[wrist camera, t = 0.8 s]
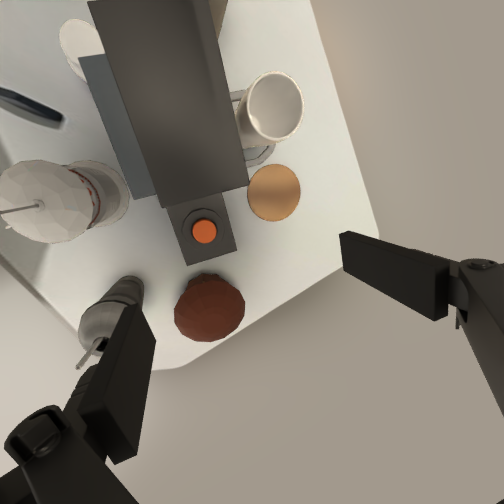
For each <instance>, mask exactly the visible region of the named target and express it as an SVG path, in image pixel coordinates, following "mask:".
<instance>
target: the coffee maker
mask: <svg viewBox="0 0 504 504" xmlns="http://www.w3.org/2000/svg"><path fill="white" fill-rule="evenodd" d="M87 4H88V7H89V9H90V12H91V15H92V18H93V20H94V23H95V26H96V29H97V31H98V34H99V37H100V40H101V42H102V45H103V48H104V51H105V53H104V54H98V55H91V56H84V57H78V61H79V63H80V66H81V68H82V71H83V73H84V76H85V78H86V81H87V83H88V86H89V88H90V91H91V93H92V96H93V98H94V101H95V103H96V106H97V108H98V111H99V113H100V116H101V118H102V121H103V123H104V126H105V128H106V131H107V133H108V136H109V138H110V141H111V143H112V146H113V148H114V151H115V154H116V156H117V159H118V161H119V164H120V166H121V169H122V171H123V174H124V176H125V179H126V181H127V184H128V186H129V189H130V191H131V194H132V196H133V199H134V200H136V199H140V198H144V197H148V196H152V195H156V194H157V196H158V199H159V202H160V205H161V207H162V208H165V207H169V206H173V205H176V204H180V203H184V202H188V201H191V200H195V199H199V198H203V197H206V196H210V195H214V194H218V193H221V192H225V191H229V190H233V189H236V188H240V187H244V186H248V185H250V181H249V177H248V172H247V167H251V166H255V165H259V164H261V163H263V162H264V161H265V160H266V159H267V158H268V157H269V156H270V155H271V154H272V153H273V150H274V148H275V145H276V144H272V145H268V146H267V149H266V150H265V151H264V152H263V153H262V154H261V155H260V156H259V157H258V158H257V159H253V160H249V161H245V159H244V155H243V150H242V146H241V142H240V137H239V133H238V128H237V124H236V120H235V115H234V111H233V106H232V102H233V101H238V100H241V98H242V96H243V95H244V93H245V92H246V90H241V91H235V92H230V93H229V89H228V84H227V80H226V76H225V71H224V67H223V62H222V58H221V54H220V49H219V45H218V40H217V36H216V32H215V27H214V23H213V18H212V14H211V10H210V5H209V1H208V0H96V1H88V2H87Z"/></svg>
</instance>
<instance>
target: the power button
mask: <svg viewBox="0 0 504 504" xmlns="http://www.w3.org/2000/svg"><path fill="white" fill-rule="evenodd" d="M192 231H193V236H194V238H195V239H196V240H197V241H199V242H201V243H209V242H211V241H212V240H213V239H214V238H215V236H216V227H215V225H214V224H213V223H212V222H211V221H210V220H208V219H199V220H197V221H196V222H195V223H194V225H193V228H192Z"/></svg>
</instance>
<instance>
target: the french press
mask: <svg viewBox="0 0 504 504" xmlns="http://www.w3.org/2000/svg"><path fill="white" fill-rule="evenodd" d="M128 202H129V194H128V190H127V187H126V184H125V182H124V181H123V180H122V178H121V177H120V176H119V174H118V173H117V172H116V171H114V170H113V169H111V168H110V167H108V166H107V165H105V164H102V163H98V162H94V161H91V160H88V161H78V162H74V163H72V164H70V165H59V164H55V163H51V162H47V161H43V160H32V161H21V162H19V163H17V164H15V165H13V166H11V167H10V168H8V169H6V170H5V171H4V172H3V174H2V175H1V177H0V215H1V216H2V218H3V219H4V220H5V221H6V222H7V223H8V224H9V226H6V229H9V228H13V229H14V230H15V231H16V232H18V233H20V234H22V235H24V236H26V237H28V238H30V239H32V240H34V241H40V242H46V243H52V244H53V243H60V242H66V241H71V240H72V239H74V238H76V237H77V236H79V235H81V234H82V233H84V231H85V230H86V229H90V228H92V226H93V227H94V226H95V227H100V226H106V225H111V224H112V223H114V222H116V221H117V220H119V219H121V217H122V216H123V214H124V213H125V212H126V210H127V208H128ZM88 226H89V228H88Z"/></svg>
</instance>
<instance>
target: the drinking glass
mask: <svg viewBox="0 0 504 504" xmlns="http://www.w3.org/2000/svg"><path fill="white" fill-rule="evenodd" d="M303 114H304V100H303V95H302V92H301V90H300V88H299V86H298V85H297V83H296V82H295V81H294V80H293V79H292V78H291V77H290V76H288V75H287V74H285V73H282V72H278V71H271V72H267V73H264V74H262V75H261V76H259V77H258V78H257V79H256V80H255V81H254V82H253V83H252V84H251V85H250V87H249V88H248V89H247V90H246V92H245V93H244V95H243V96H242V98H241V100H240V102H239V105H238V107H237V109H236V112H235V114H234V115H235V120H236V124H237V128H238V133H239V137H240V142H241V146H242V148H243V149H248V148H251V147H259V146H268V145H272V144H276V143H278V142H281V141H283V140H285V139H286V138H288V137H290V136H291V135H293V134H294V133H295V132H296V130H297V129H298V128H299V126H300V124H301V122H302V119H303Z"/></svg>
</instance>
